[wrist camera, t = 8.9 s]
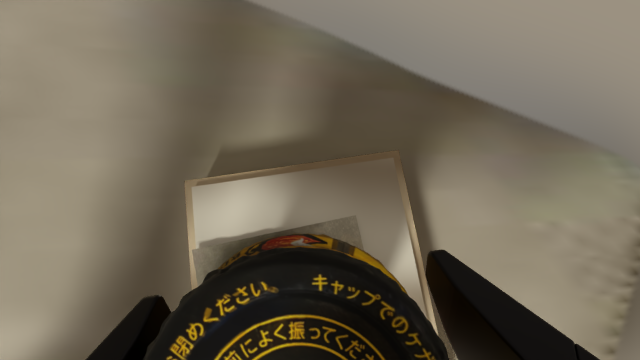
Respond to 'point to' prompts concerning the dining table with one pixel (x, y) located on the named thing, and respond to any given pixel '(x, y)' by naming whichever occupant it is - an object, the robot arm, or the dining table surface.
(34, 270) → the dining table surface
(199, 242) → the picture frame
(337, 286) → the condiment
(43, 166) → the dining table surface
